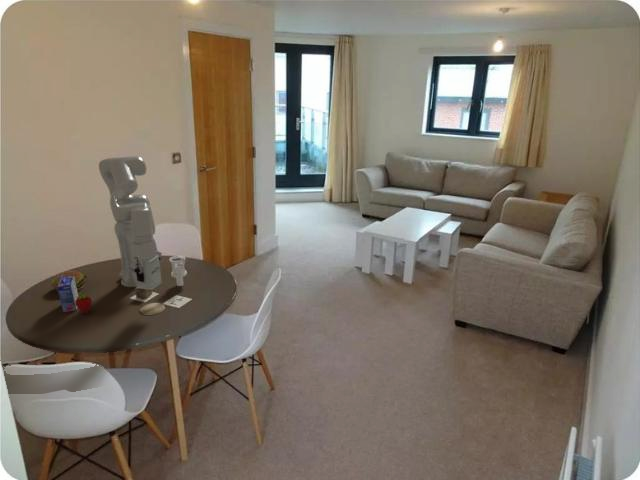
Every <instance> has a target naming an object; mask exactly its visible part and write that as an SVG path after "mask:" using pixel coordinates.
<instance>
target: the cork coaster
mask: <svg viewBox="0 0 640 480" xmlns="http://www.w3.org/2000/svg"><path fill="white" fill-rule="evenodd" d="M165 309H166V305H165V304H163V303H162V302H151V303H148V304H145V305H143V306H142V307H141V308H139V312H140V313H141V314H142V315H144V316H153V315H158V314H160V313H162V312H164V311H165Z"/></svg>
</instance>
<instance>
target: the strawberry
mask: <svg viewBox="0 0 640 480" xmlns="http://www.w3.org/2000/svg"><path fill="white" fill-rule="evenodd" d="M79 293H81V292H79ZM79 293H78V294H79ZM81 294H82V295H78V297H75V298H77V300H76V306H77V310H79V311H80V312H83V313H84V314H88V312H89V310H90V309H91V306H92V299H91V297H90V296H89V294H85V293H81Z"/></svg>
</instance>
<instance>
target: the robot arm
mask: <svg viewBox="0 0 640 480" xmlns="http://www.w3.org/2000/svg"><path fill="white" fill-rule="evenodd" d="M98 169H99V173H100V176H101V178H102V180H103V182H104V184H105V185H106V186H107V189H108V191H109V195H110V198H109V205H110V209H111V213H112V217H113V218H114V221H115V222H116V223H115V224H114V232H115V236H116V239H117V243H118V247H119V253H120V259H121V266H122V270H121V271H120V273H119V274H118V276H119V277H122V279H121V281H120V284H121V285H122V286H123V287H125V288H127V287H128V288H136V287H137V283H136V275H137V281H140V282H144V274H143V273H142V271H143V267H144V266H145V261H146V260H149V259H151V258H153V257H155V256H157V255H158V256H159V262H160V261H161V257H162V254H163V253H162V252H160V251H158V247H157V243H156V240H155V238H154V235H155V233H156V225H155V220H154V216H153V211H152V207H151V203H150V200H149V198H148V196H146V195H144V194H134V193H135V192H136V191H137V190H138V186H139V184H138V181H137V178H136V177H140V176H141V177H142V176H144V175H146V174H147V164H146V162H145V160H144V159H143V157H141V156H135V155H134V156H123V157H120V156H119V157H110V158H104V159H102V160H100V161H99V163H98ZM133 194H134V195H133ZM137 263H139V264H140V265H138V264H137ZM136 264H137V265H136ZM135 266H136V267H135ZM138 267H140V270H139V268H138ZM135 273H136V275H135Z"/></svg>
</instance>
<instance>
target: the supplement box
mask: <svg viewBox="0 0 640 480" xmlns="http://www.w3.org/2000/svg"><path fill="white" fill-rule="evenodd" d="M137 264H138V265H140V264H139V263H137ZM137 264H136V265H137ZM135 267H136V266H135ZM138 268H139V270H140V267H138ZM142 273H143V274H144V282H140V281H137V275H136V273H135V275H136V283H137V288H141V289H150V290H152V291H153V290H154V289H155V288H156V287H158V286H159V285H160V284H162V273H161V264H160V261H159V256H158V255H157V256H155V257H153V258H151V259H149V260H146V261H145V266H144V267H143V271H142Z"/></svg>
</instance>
